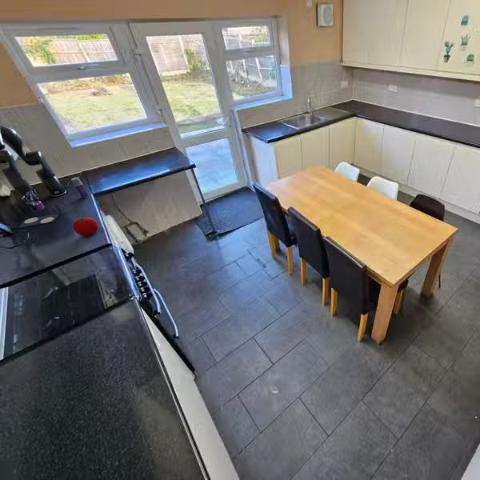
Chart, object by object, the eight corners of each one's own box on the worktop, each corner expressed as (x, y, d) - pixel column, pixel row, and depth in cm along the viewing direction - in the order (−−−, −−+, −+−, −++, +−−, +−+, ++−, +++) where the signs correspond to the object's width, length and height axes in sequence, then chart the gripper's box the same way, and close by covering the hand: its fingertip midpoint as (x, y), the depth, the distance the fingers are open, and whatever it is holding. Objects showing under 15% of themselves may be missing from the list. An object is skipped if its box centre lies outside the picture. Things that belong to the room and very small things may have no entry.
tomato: (76, 240, 162) (65, 225, 155) (81, 230, 171) (71, 215, 164) (99, 236, 166) (90, 220, 159) (103, 226, 174) (94, 211, 167)
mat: (25, 219, 182) (25, 219, 182) (59, 213, 188) (59, 213, 188) (18, 228, 174) (17, 227, 174) (53, 221, 180) (53, 221, 179)
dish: (34, 207, 177) (30, 202, 174) (46, 205, 179) (42, 200, 176) (30, 211, 172) (26, 206, 170) (42, 209, 174) (38, 204, 172)
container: (85, 198, 205) (74, 180, 196) (80, 197, 206) (69, 179, 197) (91, 195, 209) (80, 177, 200) (86, 195, 210) (75, 177, 201)
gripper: (17, 180, 169) (35, 203, 179) (6, 189, 158) (25, 214, 169) (32, 178, 171) (48, 201, 181) (22, 187, 161) (40, 211, 171)
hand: (37, 207), depth 175 cm, fingers closed on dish, 6 cm apart
